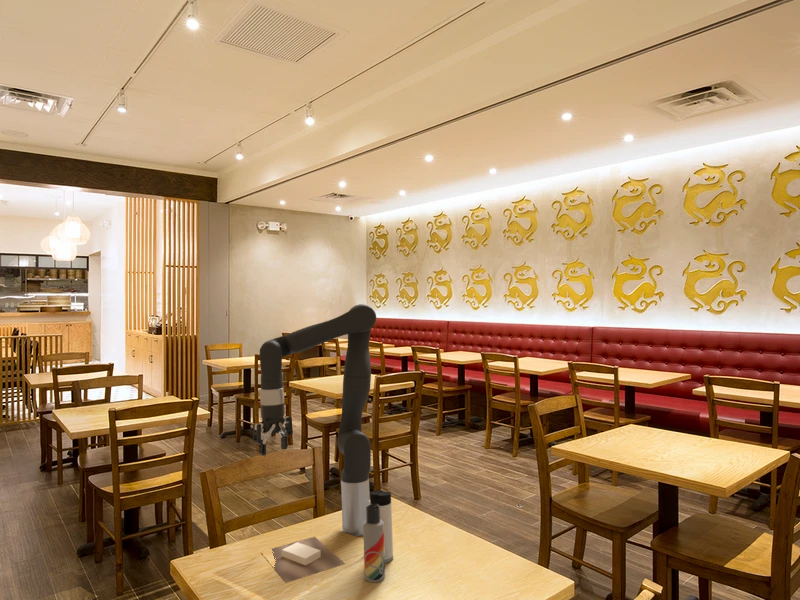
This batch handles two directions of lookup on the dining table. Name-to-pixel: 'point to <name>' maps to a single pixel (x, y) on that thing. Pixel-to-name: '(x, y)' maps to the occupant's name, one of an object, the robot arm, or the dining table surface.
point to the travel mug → (385, 519)
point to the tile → (301, 553)
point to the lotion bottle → (374, 544)
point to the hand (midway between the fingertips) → (273, 452)
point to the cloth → (296, 570)
